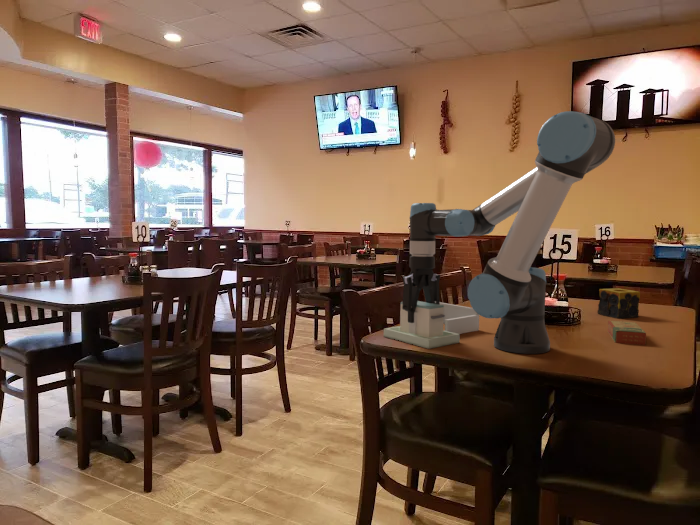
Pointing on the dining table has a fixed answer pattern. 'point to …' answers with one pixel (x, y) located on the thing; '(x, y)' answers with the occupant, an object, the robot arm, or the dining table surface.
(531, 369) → the dining table surface
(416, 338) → the tray
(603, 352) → the dining table surface
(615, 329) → the carton
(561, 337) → the dining table surface
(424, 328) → the mint-topped white block
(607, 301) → the yellow and blue cube
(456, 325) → the bay
